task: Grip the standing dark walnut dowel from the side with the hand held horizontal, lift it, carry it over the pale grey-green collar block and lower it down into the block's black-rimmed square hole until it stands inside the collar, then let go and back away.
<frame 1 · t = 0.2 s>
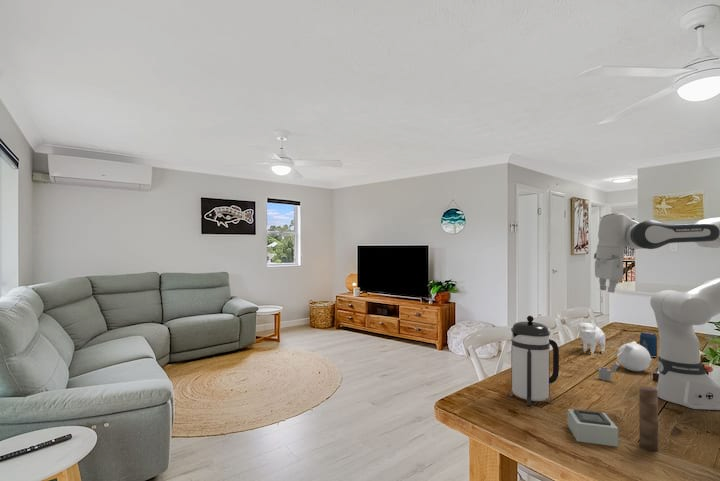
hand: (606, 291, 143), 38 cm above the table, tool pointing down, fingers open, 8 cm apart
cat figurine: (591, 353, 197), on the table
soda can: (648, 356, 191), on the table
collar block: (591, 435, 108), on the table
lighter: (608, 381, 154), on the table
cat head: (634, 371, 167), on the table
dowel: (648, 447, 102), on the table
coffee press: (532, 399, 135), on the table
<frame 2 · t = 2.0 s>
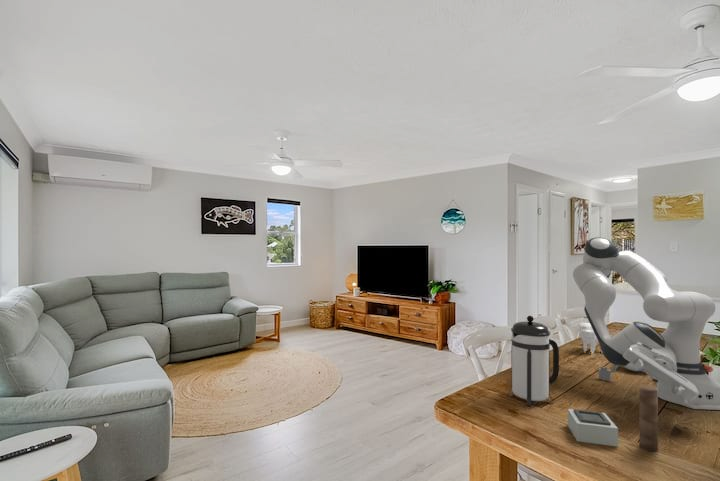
hand: (658, 380, 112), 15 cm above the table, tool horizontal, fingers open, 8 cm apart
nothing on the table moved.
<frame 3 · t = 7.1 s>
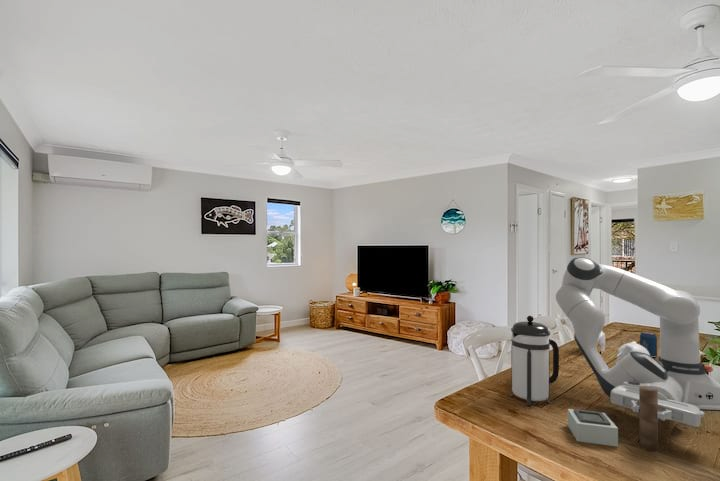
hand: (647, 413, 102), 10 cm above the table, tool horizontal, fingers closed on dowel, 4 cm apart
dowel: (648, 447, 102), on the table, touching gripper
everything else where it was.
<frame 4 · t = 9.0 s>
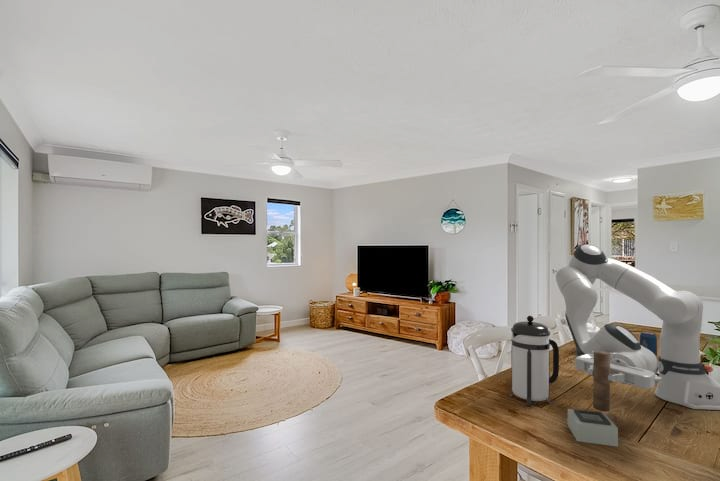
hand: (599, 375, 107), 18 cm above the table, tool horizontal, fingers closed on dowel, 4 cm apart
dowel: (601, 408, 107), point 8 cm above the table, touching gripper
everything else where it was.
when the fingers open (11 cm above the table, at t = 11.3 s): dowel drops 1 cm, resting in collar block.
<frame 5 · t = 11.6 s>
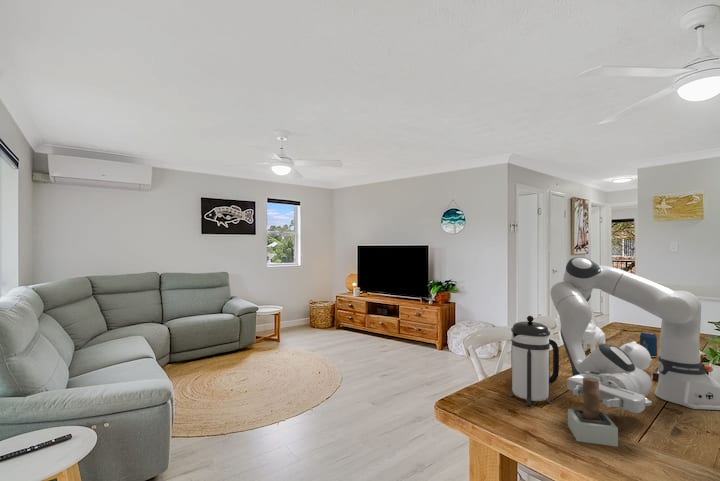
hand: (589, 397, 108), 11 cm above the table, tool horizontal, fingers open, 7 cm apart
dowel: (591, 435, 109), resting in collar block
everything else where it was.
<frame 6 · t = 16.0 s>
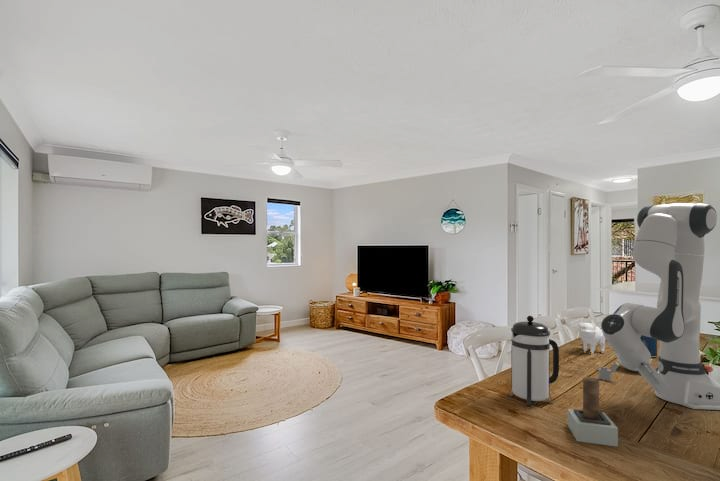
hand: (651, 379, 129), 9 cm above the table, tool tilted 45°, fingers open, 8 cm apart
nothing on the table moved.
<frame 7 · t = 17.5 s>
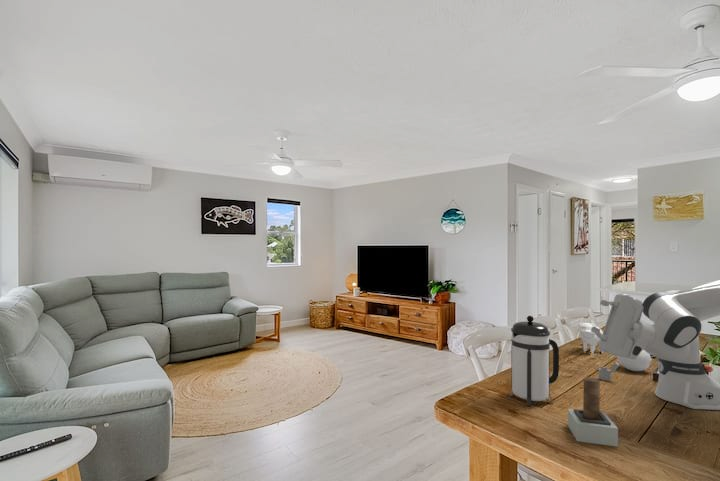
hand: (597, 315, 121), 33 cm above the table, tool pointing upward, fingers open, 8 cm apart
nothing on the table moved.
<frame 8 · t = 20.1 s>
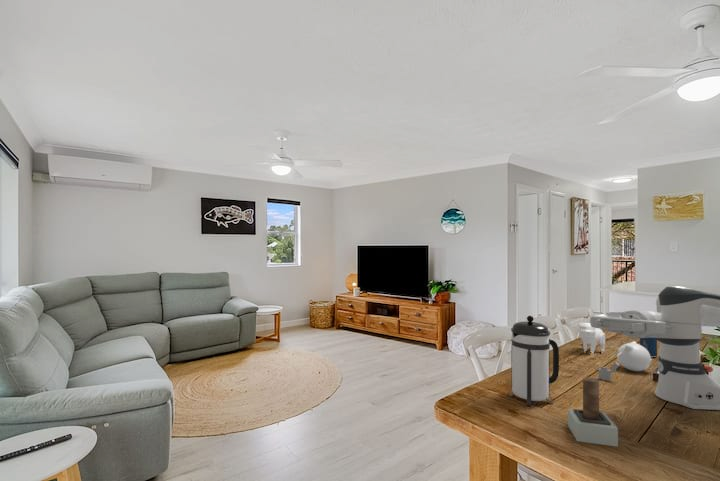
hand: (613, 324, 115), 31 cm above the table, tool horizontal, fingers open, 8 cm apart
nothing on the table moved.
at the end: dowel 0.1 cm off-centre on the collar block, point 0.0 cm above the collar block's base; dowel tilted 1°; the gripper is holding nothing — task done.
